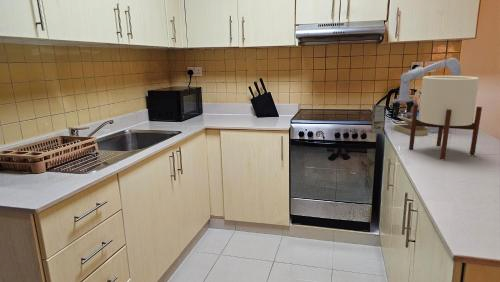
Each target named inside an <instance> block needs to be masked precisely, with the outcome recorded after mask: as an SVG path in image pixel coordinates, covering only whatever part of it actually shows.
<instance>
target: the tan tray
mask: <svg viewBox="0 0 500 282" xmlns="http://www.w3.org/2000/svg"><path fill="white" fill-rule="evenodd" d="M393 130H394V131H395V132H396V131H397V132H399V133H403V134H404V135H408V136H410V134H411V125H409V124H408V123H406V124H394V127H393ZM428 135H429V131H428V130H426V129H423V128H419V127H416V129H415V137H422V136H423V137H424V136H428Z"/></svg>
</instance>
